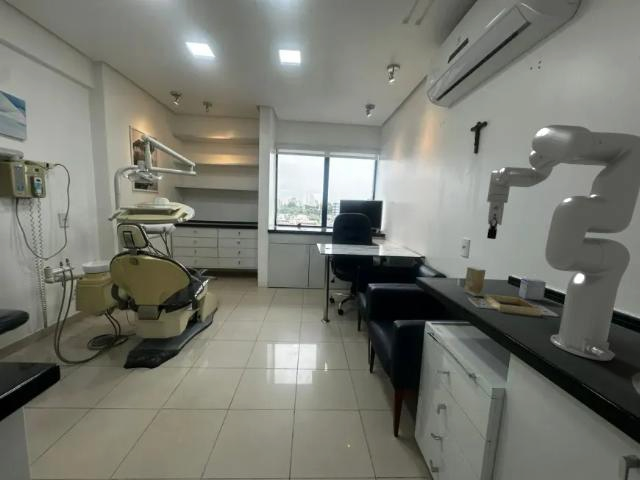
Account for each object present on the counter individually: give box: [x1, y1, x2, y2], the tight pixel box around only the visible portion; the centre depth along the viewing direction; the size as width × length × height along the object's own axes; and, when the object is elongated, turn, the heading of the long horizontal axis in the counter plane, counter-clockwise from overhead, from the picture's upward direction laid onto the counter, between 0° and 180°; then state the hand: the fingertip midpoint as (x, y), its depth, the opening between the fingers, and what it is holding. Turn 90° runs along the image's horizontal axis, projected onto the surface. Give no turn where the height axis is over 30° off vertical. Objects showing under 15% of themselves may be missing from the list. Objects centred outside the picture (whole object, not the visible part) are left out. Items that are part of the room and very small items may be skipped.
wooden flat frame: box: [467, 293, 559, 318], centre depth 107 cm, size 14×28×2 cm, turn 79°
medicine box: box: [518, 277, 547, 301], centre depth 121 cm, size 8×4×9 cm, turn 84°
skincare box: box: [463, 266, 486, 297], centre depth 122 cm, size 6×4×12 cm
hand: (491, 237), depth 118 cm, fingers open, 9 cm apart
